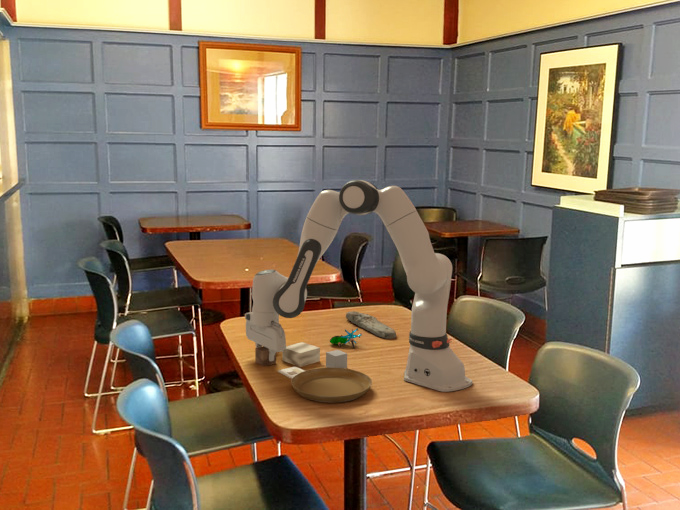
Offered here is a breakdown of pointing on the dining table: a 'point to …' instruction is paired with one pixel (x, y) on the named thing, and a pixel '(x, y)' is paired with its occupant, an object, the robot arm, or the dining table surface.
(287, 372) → the card
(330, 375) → the plant saucer
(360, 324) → the elongated rock
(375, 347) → the dining table surface
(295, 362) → the birch base block
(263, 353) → the walnut cube
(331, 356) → the grey plastic cube
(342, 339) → the stick construction toy
